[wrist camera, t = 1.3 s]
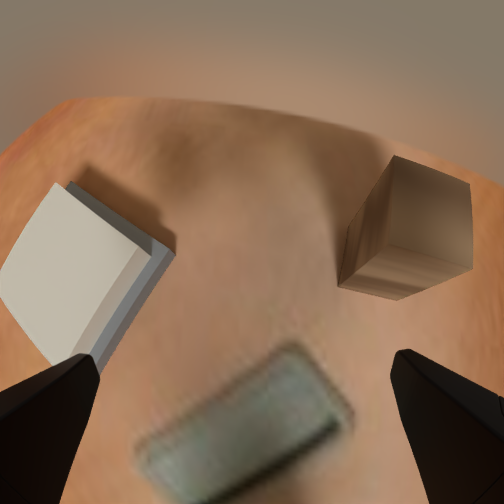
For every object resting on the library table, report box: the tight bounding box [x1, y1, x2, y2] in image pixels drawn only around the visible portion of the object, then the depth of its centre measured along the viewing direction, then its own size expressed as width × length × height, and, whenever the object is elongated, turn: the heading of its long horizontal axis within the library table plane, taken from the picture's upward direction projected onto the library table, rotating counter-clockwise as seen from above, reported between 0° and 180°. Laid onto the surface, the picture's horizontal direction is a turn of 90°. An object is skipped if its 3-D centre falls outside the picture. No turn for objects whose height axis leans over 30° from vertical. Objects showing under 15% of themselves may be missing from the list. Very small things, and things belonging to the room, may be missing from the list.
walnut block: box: [338, 155, 473, 301], centre depth 17 cm, size 5×5×10 cm
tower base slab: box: [65, 181, 176, 375], centre depth 22 cm, size 13×13×2 cm
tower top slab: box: [0, 183, 151, 366], centre depth 20 cm, size 11×11×2 cm
